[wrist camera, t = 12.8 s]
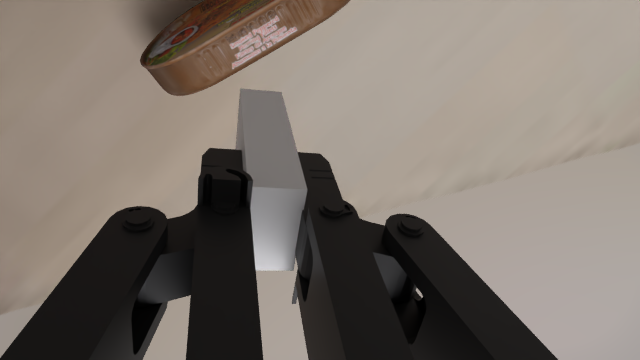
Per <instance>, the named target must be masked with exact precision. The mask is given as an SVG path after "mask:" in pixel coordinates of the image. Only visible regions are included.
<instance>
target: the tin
mask: <svg viewBox="0 0 640 360" xmlns="http://www.w3.org/2000/svg"><path fill="white" fill-rule="evenodd" d="M349 1H350V0H205V1H203V2H201V3H200V4H198V5H196V6H195V7H193V8H192V9H190V10H188V11H187V12H186V13H184V14H183V15H181V16H180V17H179V18H177V19H176V20H175V21H173V22H172V23H171V24H169V25H168V26H167V27H166V28H165V29H164V30H162V31H161V32H160V33H159V34H158V35H157V36H156V37H155V38H154V39H153V40H152V41H151V43H150V44H149V45H148V46H147V48H146V49H145V51H144V52H143V54H142V56H141V59H140V62H141V65H142V66H143V67H145V68H146V69H147V70H148V71H149V72H150V73H151V75H152V76H153V77H154V78H155V80H156V81H157V82H158V83H159V85H160V86H161V87H162V88H163V89H164V90H165V91H166V92H168V93H169V94H171V95H176V96H183V95H189V94H193V93H196V92H199V91H202V90H204V89H206V88H208V87H211V86H213V85H215V84H217V83H219V82H220V81H222V80H224V79H226V78H227V77H229V76H231V75H233V74H234V73H236V72H238V71H240V70H242V69H243V68H245V67H247V66H249V65H250V64H252V63H254V62H255V61H257V60H259V59H260V58H262V57H264V56H266V55H268V54H269V53H271V52H273V51H274V50H276V49H278V48H280V47H281V46H283V45H285V44H286V43H288V42H290V41H291V40H293V39H295V38H296V37H298V36H300V35H302V34H303V33H305V32H307V31H308V30H310V29H312V28H313V27H315V26H317V25H318V24H320V23H322V22H323V21H325V20H326V19H328V18H329V17H331V16H332V15H334V14H335V13H336V12H337V11H339V10H340V9H341V8H342V7H344V6H345V5H346V4H347V3H348V2H349Z"/></svg>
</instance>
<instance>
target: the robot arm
mask: <svg viewBox="0 0 640 360" xmlns="http://www.w3.org/2000/svg"><path fill="white" fill-rule="evenodd" d="M295 258H296V260H297V265H298V270H297V276H296V282H295V287H294V293H293V299H292V304H296V300H297V297H298V300H299V306H300V312H301V318H302V324H303V330H304V336H305V341H306V347H307V353H308V358H309V360H558V359H557V358H556V357H555V356H554V355H553V354H552V353H551V352H550V351H549V350H548V349H547V348H546V347H545V346H544V344H543V343H542V342H541V341H540V340H539V339H538V338H537V337H536V336H535V335H534V334H533V333H532V332H531V331H530V330H529V329H528V328H527V326H526V325H525V324H524V323H523V322H522V321H521V320H520V319H519V318H518V317H517V316H516V315H515V314H514V313H513V312H512V311H511V310H510V309H509V308H508V306H507V305H506V304H504V302H503V301H502V300H501V299H500V298H499V297H498V296H497V295H496V294H495V293H494V292H493V291H492V290H491V289H490V287H489V286H488V285H486V283H485V282H484V281H483V280H482V279H481V278H480V277H479V276H478V275H477V274H476V273H475V272H474V271H473V270H472V269H471V268H470V266H469V265H468V264H467V263H466V262H465V261H464V260H463V259H462V258H461V257H460V256H459V255H458V254H457V253H456V252H455V251H454V250H453V249H452V247H451V246H450V245H449V244H448V243H447V242H446V241H445V240H444V239H443V238H442V237H441V236H440V235H439V234H438V233H437V232H436V231H435V230H434V229H433V228H432V227H431V225H429V224H428V223H427V222H426V221H424V220H423V219H420V218H418V217H416V216H413V215H409V214H396V215H392V216H390V217H389V218H388V219H387V220H386V224H385V226H384V225H380V224H376V223H371V222H368V221H365V220H362V219H360V218H359V216H358V214H357V211H356V210H355V208H354V207H353V206H352V205H351V204H349V203H348V202H346V201H344V200H343V199H342V196H341V194H340V191H339V188H338V186H337V183H336V180H335V177H334V175H333V172H332V169H331V166H330V164H329V162H328V161H327V160H326V159H325V158H324V157H323V156H322V155H321V154H316V153H300V152H297V149H296V145H295V141H294V137H293V134H292V130H291V126H290V122H289V118H288V115H287V111H286V107H285V103H284V100H283V96H282V92H273V91H262V90H251V89H240V99H239V111H238V124H237V137H236V149H235V150H233V149H216V148H209V149H208V150H207V151H206V152H205V153H204V154H203V155H202V164H201V174H200V176H199V178H198V205H197V206H196V207H195V209H194V210H192V211H191V212H189V213H188V214H185V215H183V216H180V217H176V218H170V219H167V218H166V216H165V214H163V213H162V212H161V211H159V210H157V209H154V208H151V207H142V206H136V207H130V208H125V209H123V210H120V211H118V212H116V213H115V214H114V215H112V216H111V217H110V218H109V219H108V221H107V222H106V223H105V225H104V226H103V227H102V228H101V230H100V231H99V232H98V234H97V235H96V236H95V237H94V239H93V240H92V241H91V243H90V244H89V245H88V246H87V248H86V249H85V250H84V251H83V253H82V254H81V255H80V257H79V258H78V259H77V260H76V262H75V263H74V264H73V266H72V267H71V268H70V269H69V271H68V272H67V273H66V275H65V276H64V277H63V278H62V280H61V281H60V282H59V284H58V285H57V286H56V287H55V289H54V290H53V291H52V293H51V294H50V295H49V296H48V298H47V299H46V300H45V301H44V303H43V304H42V305H41V307H40V308H39V309H38V311H37V312H36V313H35V314H34V316H33V317H32V318H31V319H30V321H29V322H28V323H27V325H26V326H25V327H24V329H23V330H22V331H21V332H20V334H19V335H18V336H17V337H16V339H15V340H14V341H13V342H12V344H11V345H10V346H9V348H8V349H7V350H6V351H5V353H4V354H3V355H2V357H1V358H0V360H142V359H143V357H144V355H145V353H146V351H147V349H148V347H149V345H150V342H151V340H152V338H153V336H154V334H155V332H156V330H157V327H158V325H159V323H160V321H161V318H162V317H163V315H164V312H165V310H166V308H167V303H168V301H170V300H174V299H178V298H182V297H186V296H189V295H191V299H190V313H189V326H188V340H187V353H186V360H263V352H262V340H261V329H260V317H259V305H258V293H257V281H256V270H281V271H285V270H286V271H289V270H290V271H292V270H293V269H294V264H295ZM416 288H418V289H419V290H420V292H421V293H422V295H423V298H421V297H420V296H419V295H418V293H417V292H416Z"/></svg>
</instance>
